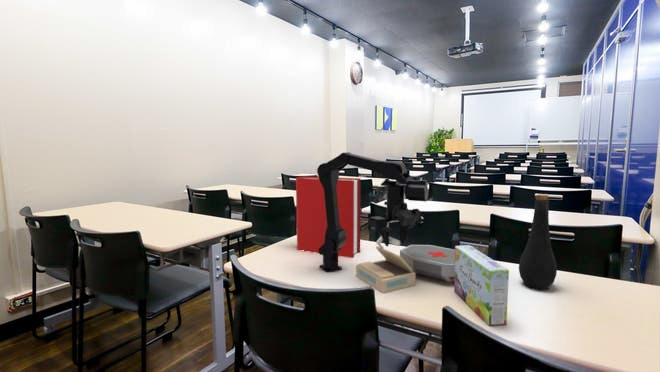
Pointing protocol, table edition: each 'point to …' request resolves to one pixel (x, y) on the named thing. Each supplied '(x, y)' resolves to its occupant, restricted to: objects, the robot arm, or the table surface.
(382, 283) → the carton
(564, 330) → the table surface
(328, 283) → the table surface
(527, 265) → the bottle
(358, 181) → the book
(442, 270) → the first aid kit
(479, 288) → the snack box
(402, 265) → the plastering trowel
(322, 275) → the table surface
